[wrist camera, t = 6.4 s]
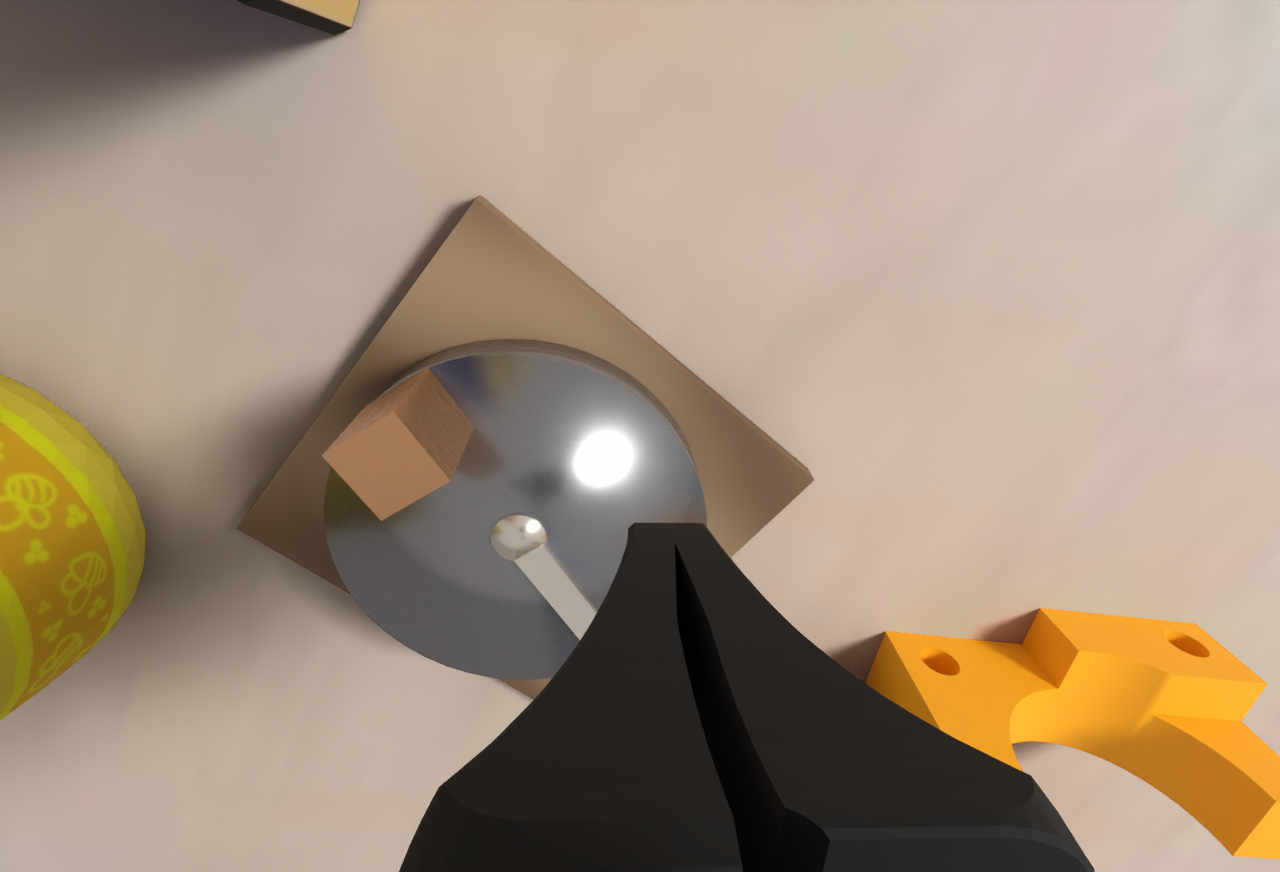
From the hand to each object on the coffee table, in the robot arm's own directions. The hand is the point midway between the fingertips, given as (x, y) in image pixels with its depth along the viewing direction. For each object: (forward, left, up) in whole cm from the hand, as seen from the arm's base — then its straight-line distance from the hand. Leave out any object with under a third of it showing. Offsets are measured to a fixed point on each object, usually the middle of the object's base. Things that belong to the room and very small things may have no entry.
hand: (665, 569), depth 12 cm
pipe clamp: (+1, -19, -10) cm, 21 cm away
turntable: (-5, 0, -8) cm, 10 cm away
